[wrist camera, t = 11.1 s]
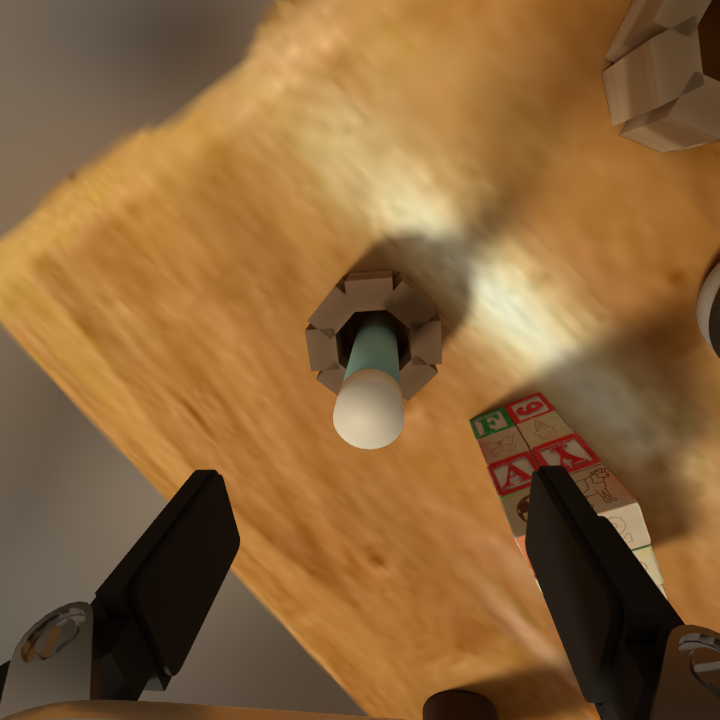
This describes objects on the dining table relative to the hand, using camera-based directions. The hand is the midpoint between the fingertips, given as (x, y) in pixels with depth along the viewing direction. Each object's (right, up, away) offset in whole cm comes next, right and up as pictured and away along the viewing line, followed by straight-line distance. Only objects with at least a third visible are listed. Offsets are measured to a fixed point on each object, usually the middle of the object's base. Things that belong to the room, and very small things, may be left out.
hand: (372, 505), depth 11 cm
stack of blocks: (+16, -8, +22) cm, 28 cm away
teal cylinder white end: (+1, +7, +17) cm, 18 cm away
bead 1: (+1, +7, +17) cm, 18 cm away
